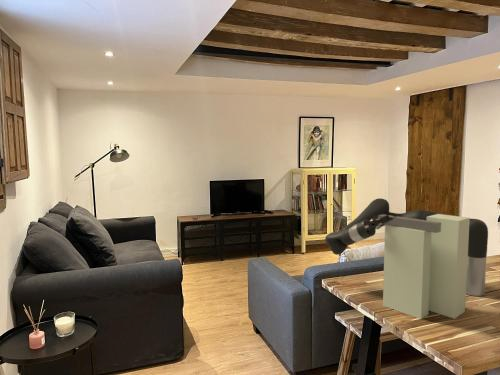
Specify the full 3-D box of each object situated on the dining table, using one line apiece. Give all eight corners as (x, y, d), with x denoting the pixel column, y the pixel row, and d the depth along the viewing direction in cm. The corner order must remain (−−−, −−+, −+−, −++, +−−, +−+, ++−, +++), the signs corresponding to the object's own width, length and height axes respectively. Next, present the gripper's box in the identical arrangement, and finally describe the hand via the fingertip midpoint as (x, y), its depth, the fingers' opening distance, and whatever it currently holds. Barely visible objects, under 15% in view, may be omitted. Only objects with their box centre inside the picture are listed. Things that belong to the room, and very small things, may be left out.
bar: (382, 222, 156) (382, 214, 155) (440, 231, 137) (441, 222, 137) (377, 223, 154) (378, 215, 153) (436, 233, 135) (436, 223, 135)
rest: (390, 302, 157) (392, 223, 153) (428, 314, 144) (431, 229, 141) (382, 305, 153) (385, 225, 150) (420, 319, 140) (424, 231, 137)
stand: (434, 302, 156) (438, 213, 152) (465, 311, 147) (469, 217, 143) (423, 308, 150) (426, 216, 146) (454, 318, 141) (458, 220, 137)
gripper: (348, 225, 159) (379, 209, 147) (367, 221, 168) (398, 206, 156) (355, 241, 156) (387, 227, 144) (374, 236, 165) (406, 222, 153)
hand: (393, 216), depth 150 cm, fingers open, 5 cm apart
